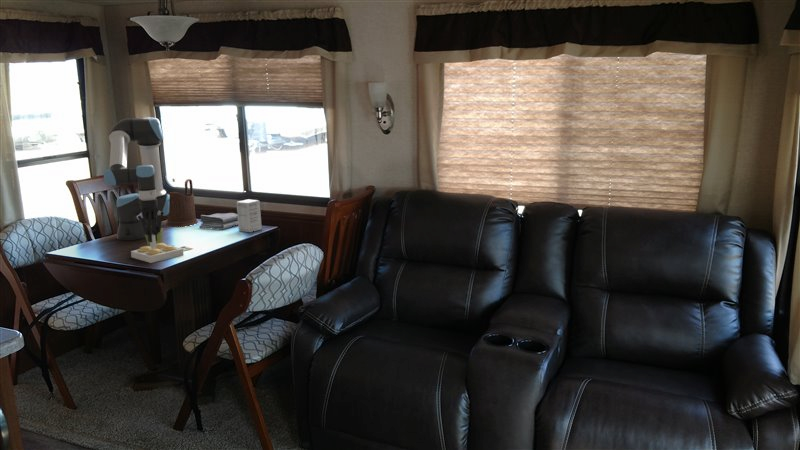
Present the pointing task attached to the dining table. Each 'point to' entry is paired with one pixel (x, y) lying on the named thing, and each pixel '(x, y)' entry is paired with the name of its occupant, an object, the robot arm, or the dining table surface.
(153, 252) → the button
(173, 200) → the brown basket
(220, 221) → the towel
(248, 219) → the supplement box
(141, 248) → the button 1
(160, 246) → the button
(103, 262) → the dining table surface
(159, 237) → the plant pot
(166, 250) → the button
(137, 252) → the white square food tray
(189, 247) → the card
